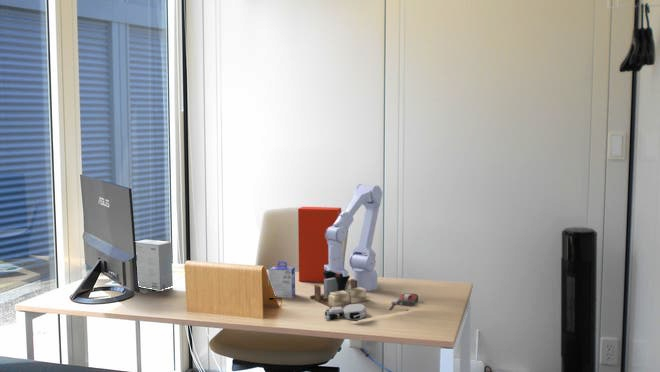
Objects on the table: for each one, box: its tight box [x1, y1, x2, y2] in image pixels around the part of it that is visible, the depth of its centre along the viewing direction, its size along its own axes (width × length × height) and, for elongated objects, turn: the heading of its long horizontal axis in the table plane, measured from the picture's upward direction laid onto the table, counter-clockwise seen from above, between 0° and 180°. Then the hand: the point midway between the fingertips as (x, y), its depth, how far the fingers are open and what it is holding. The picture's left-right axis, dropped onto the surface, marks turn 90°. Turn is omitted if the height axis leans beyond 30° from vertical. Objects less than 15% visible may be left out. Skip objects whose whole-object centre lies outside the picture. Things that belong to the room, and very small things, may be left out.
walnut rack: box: [309, 278, 372, 308], centre depth 278 cm, size 18×16×7 cm
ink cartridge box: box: [268, 260, 296, 299], centre depth 284 cm, size 10×6×14 cm, turn 78°
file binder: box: [297, 206, 342, 283], centre depth 311 cm, size 8×17×32 cm, turn 76°
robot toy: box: [324, 302, 367, 322], centre depth 257 cm, size 12×4×15 cm
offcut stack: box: [328, 287, 367, 307], centre depth 274 cm, size 15×4×4 cm, turn 122°
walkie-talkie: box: [388, 292, 419, 311], centre depth 272 cm, size 9×4×20 cm
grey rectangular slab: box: [323, 277, 349, 297], centre depth 280 cm, size 10×2×8 cm, turn 122°
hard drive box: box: [135, 239, 174, 290], centre depth 301 cm, size 16×8×20 cm, turn 58°
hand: (336, 290), depth 280 cm, fingers open, 7 cm apart
